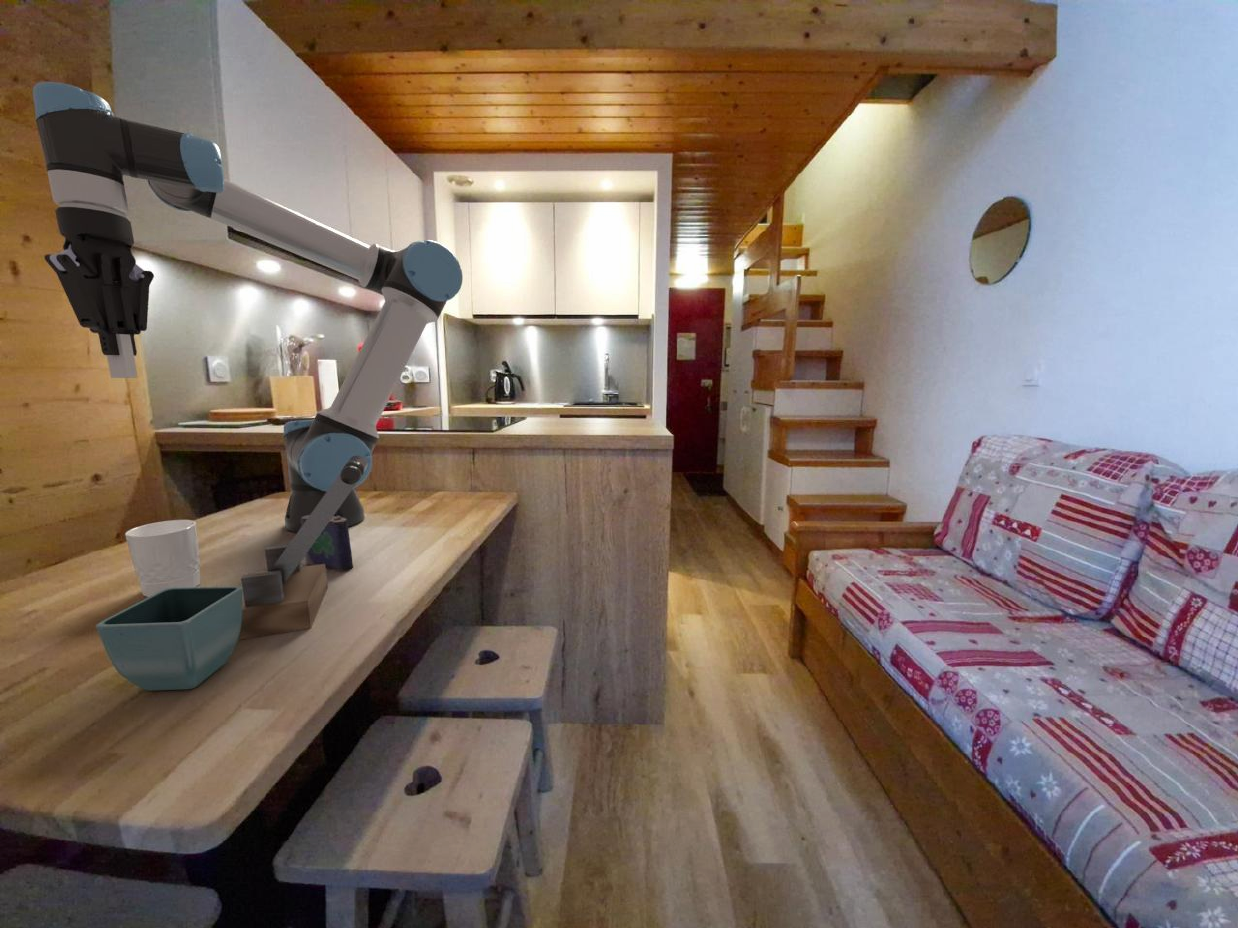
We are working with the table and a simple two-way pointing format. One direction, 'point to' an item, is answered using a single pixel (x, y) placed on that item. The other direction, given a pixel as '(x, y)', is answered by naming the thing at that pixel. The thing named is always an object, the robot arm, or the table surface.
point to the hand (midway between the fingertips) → (124, 377)
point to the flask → (331, 546)
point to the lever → (320, 516)
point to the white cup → (165, 555)
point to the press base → (281, 598)
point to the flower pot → (174, 636)
